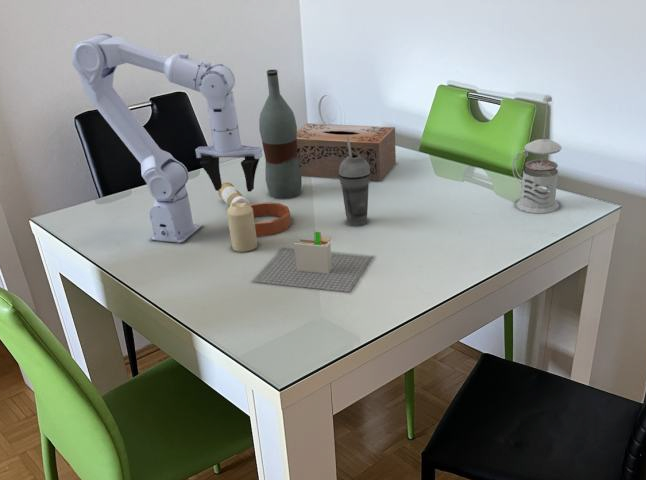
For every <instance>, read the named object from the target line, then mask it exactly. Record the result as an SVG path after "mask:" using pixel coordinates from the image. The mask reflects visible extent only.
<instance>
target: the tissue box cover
mask: <svg viewBox="0 0 646 480" xmlns="http://www.w3.org/2000/svg"><path fill="white" fill-rule="evenodd" d="M346 135H348V136H349V141H350V147H351V153H352V155H360V156H362V157H363V158H364V159H365V160H366V161H367V162H368V164H369V167H370V171H371V174H370V181H369V182H381V181H382V180H383V179H384V178H385V177H386V176H387V174H388V173H389V172H390V170H391V169H393V167H394V166H395V165H396V162H397V160H396V127H394V126H374V125H356V124H355V125H354V124H353V125H352V124H331V123H311V122H310V123H309V122H307V123H305V124H304V125H303V126H301V127H299V128H298V129H297V159H298V163H299V167H300V172H301V177H314V178H328V179H340V178H339V168H340V164H341V162H342V161H343V160H344V159H345V158H346V157H347V156H349V149H348V143H347V137H346Z"/></svg>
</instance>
